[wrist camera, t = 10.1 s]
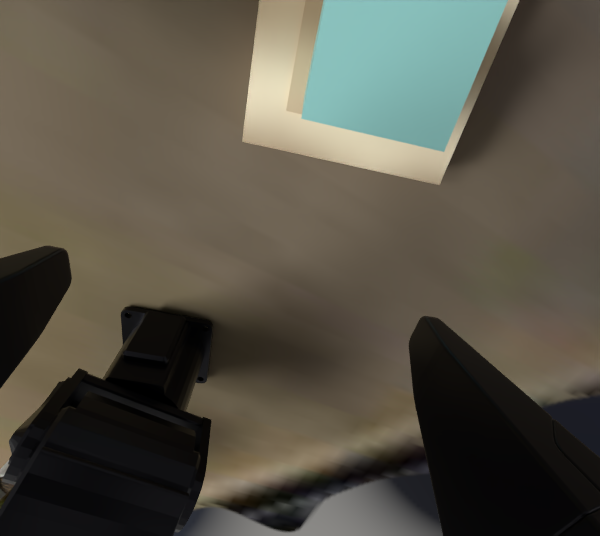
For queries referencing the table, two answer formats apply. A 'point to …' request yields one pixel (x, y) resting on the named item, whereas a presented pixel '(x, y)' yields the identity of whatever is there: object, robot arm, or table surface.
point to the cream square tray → (320, 137)
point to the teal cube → (398, 65)
